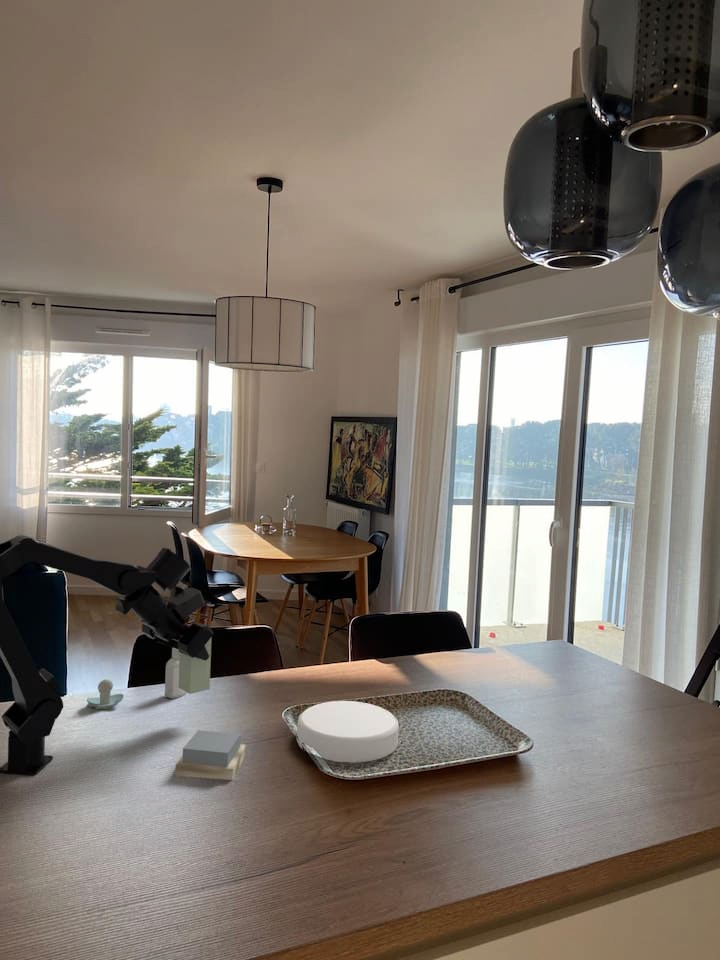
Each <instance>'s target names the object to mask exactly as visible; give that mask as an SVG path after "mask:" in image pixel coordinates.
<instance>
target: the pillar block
mask: <svg viewBox="0 0 720 960" xmlns="http://www.w3.org/2000/svg"><path fill="white" fill-rule="evenodd" d="M212 637H213V636H212ZM212 637H211V638H210V639H209V641H208V642H207V643H206V644H205V648H206V650H207V652H208V654H209V658H208V659H207V660H202V659H199V658H196V657H194V658H192V657H189V656H187V655H185V654H183V653H180V658H179V686H178V688H180V689H182V690H184V691H185V692H187V693H186V694H189V695H191V694H192V695H193V694H197V693H200V692H205V691H209V690H210V686H211V659H212V639H213V638H212Z"/></svg>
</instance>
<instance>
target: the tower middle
mask: <svg viewBox="0 0 720 960" xmlns="http://www.w3.org/2000/svg"><path fill="white" fill-rule="evenodd" d="M241 736H242V735H241V733H233V732H224V731H223V732H222V731H215V730H214V731H213V730H212V731H211V730H202V729H201V730H200V729H198V730H197V731H196V732H195V733H194V735H193V736H192V737H191V739H189V740H188V742H187V743H186V744H185V745H184V747H183V748H182V755H183V761H182V763H192V764H202V765H212V766H222V767H228V765H229V764H230V762H231V761H232V759H233V758H234V756H235V755H236V753H237V752H238V750H239V749H240V744H241V741H242V739H241V738H242V737H241Z"/></svg>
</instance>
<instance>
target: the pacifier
mask: <svg viewBox="0 0 720 960" xmlns="http://www.w3.org/2000/svg"><path fill="white" fill-rule="evenodd" d="M113 687H114V683H113V681H112V680H111V679H107V678H106V679H103V680H101V681H100V682H99V683H98V685H97V690H98V692H99V696H98V697H87V698H86V702H87V704H86V705H87V707H91V708H95V709H96V710H107V709H112V708H113V707H115V705H117V704H119V703H121V701H123V699H124V694H123V693H117V694H112V695H111V692H112V690H113Z"/></svg>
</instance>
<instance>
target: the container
mask: <svg viewBox="0 0 720 960" xmlns="http://www.w3.org/2000/svg"><path fill="white" fill-rule="evenodd" d="M296 724H297V725H296V737H297V736H298V738H299V740H300V742H299V741H298V739H297V738H296V741H297V744H298V746H299V748H301V749H302V750H303V748H302V745H301V742H303V743H305V744H306V745H308V746H309V747H311V748H313V749H314V750H315V751H316V752H317V753H318V754H319V755H320V756H321V757H322V758H324V759H323V760H327V761H332V762H338V763H339V762H340V763H363V762H365V763H366V762H373V761H375V760H379V759H383V758H386V757H387V756H389V755H391V754H392V753H394V752H395V750H396V749H397V747H399V732H400V731H399V730H400V728H399V721H398V719H397V717H395V716H394V715H393V714H392V712H390V711H388V710H387V709H384V708H383V707H381V706H378V705H375V704H371V703H367V702H361V701H351V700H350V701H349V700H336V701H326V702H322V703H317V704H314V705H313V706H311V707H307V708H306V709H305V710H304V711H303V712H302V713H301V714H299V716H298V719H297V723H296ZM322 758H321V759H322Z"/></svg>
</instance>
